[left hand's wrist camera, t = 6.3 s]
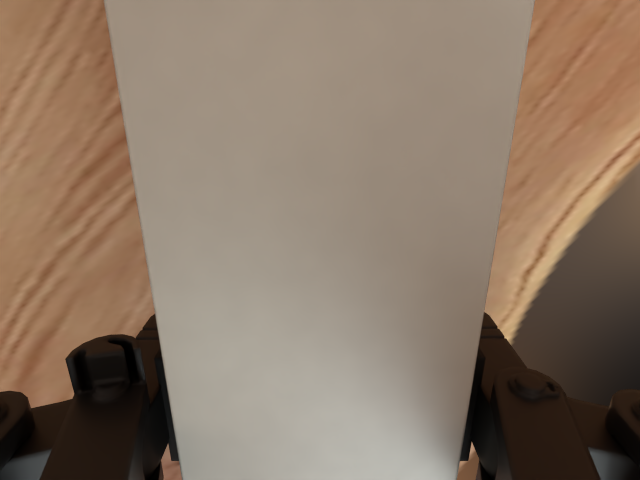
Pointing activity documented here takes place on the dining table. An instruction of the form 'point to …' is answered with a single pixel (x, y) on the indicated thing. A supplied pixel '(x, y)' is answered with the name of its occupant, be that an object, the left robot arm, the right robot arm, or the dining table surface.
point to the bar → (319, 222)
